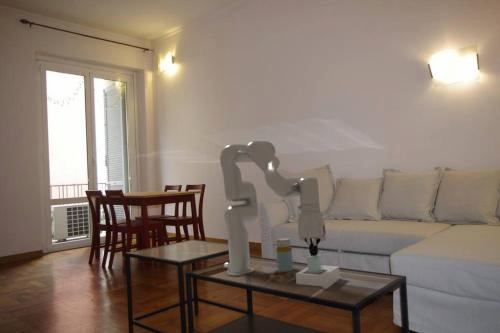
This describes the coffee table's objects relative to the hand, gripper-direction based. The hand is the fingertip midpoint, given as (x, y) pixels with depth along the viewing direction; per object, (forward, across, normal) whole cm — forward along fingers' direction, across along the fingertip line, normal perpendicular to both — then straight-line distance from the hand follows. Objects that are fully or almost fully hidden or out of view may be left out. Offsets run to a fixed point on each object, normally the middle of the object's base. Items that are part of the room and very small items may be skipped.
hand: (314, 255), depth 154 cm
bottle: (+12, -21, +15) cm, 28 cm away
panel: (+12, 0, +3) cm, 12 cm away
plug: (+10, 0, 0) cm, 11 cm away
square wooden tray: (+11, -15, -1) cm, 19 cm away
